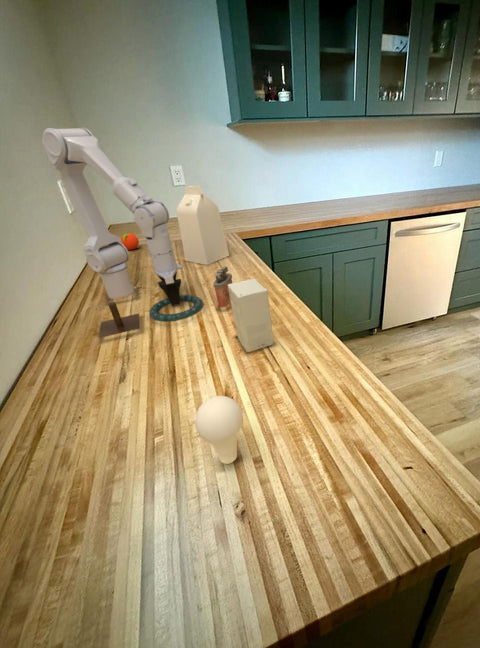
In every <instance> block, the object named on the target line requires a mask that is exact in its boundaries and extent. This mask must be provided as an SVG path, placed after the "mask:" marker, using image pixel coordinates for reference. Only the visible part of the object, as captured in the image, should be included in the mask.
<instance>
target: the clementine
mask: <svg viewBox="0 0 480 648" xmlns="http://www.w3.org/2000/svg"><path fill="white" fill-rule="evenodd" d="M120 240H121V242H122V244H123V245H124V246H125V247H126V249H127V250H128V251H133V250H135V249H137V248H138V246H139V245H140V244H139V243H140V240H139V238H138V236H136V235H135V234H133V233H130V232H129V233H128V232H127V233H124V234H123V235H122V236H121V238H120Z"/></svg>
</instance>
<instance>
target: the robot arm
mask: <svg viewBox="0 0 480 648" xmlns="http://www.w3.org/2000/svg"><path fill="white" fill-rule="evenodd" d="M41 139H42V140H41V144H42V147H43V148H44V151H45V152H46V155H47V157H48V159H49V162H50V163H51V166H52V167H53V169H54V170H56V173H57V175H58V176H59V177H58V178H59V179H60V181H61V183H62V185H63V187H64V189H65V191H66V193H67V195H68V198H69V200H70V201H71V204H72V206H73V208H74V210H75V212H76V214H77V217H78V218H79V220H80V223H81V225H82V227H83V229H84V231H85V233H86V235H87V237H88V239H87V241H86V243H85V244H84V245H83V248H82V249H83V251H84V253H85V257H86V262H87V263H86V264H87V265H88V266H89V268H90V269H91V270H93V271H94V272H95V273H96V274H99V275H100V279H101V280H102V284H103V287H104V289H105V292H106V294H107V297H108V299H110V300H111V299H112V300H117V299H118V300H119V299H123V298H126V297H129V296H131V295H132V294H134V293H135V289H137V286H133V283H132V279H131V277H130V273H129V271H128V268H127V266H129V264H128V262H129V260H130V253H129V249H126V247H125V246H124V245H123V244H122V242H121V238H120V237H119V236H117V235H115V234H112V233H111V232H110V230H109V228H108V225H107V224H106V221H105V220H104V217H103V215H102V213H101V211H100V208H99V206H98V204H97V201H96V200H95V197H94V195H93V193H92V190H91V188H90V186H89V183H88V182H87V179H86V177H85V175H84V169H85V168H86V166H89V167H91V168H92V169H93V170H94V171H95V172H97V174H99V176H101V177H102V178H103V179H104V180H105V181H106V182H107V183H109V185H111V186H112V193H113V195H114V196H115V197H116V198H117V199H118V200H119V201H120V202H121V203H122V205H124V206H125V207H126V208H127V209H128V210H129V211H130V212H131V213H132V214H133V219H132V220H133V221H134V223H135V225H136V227H138V228H139V230H140V233H141V235H142V236H143V237H144V238H145V242H146V246H147V249H148V253H149V256H150V259H151V263H152V266H153V272H154V274H155V275H156V276H157V277H158V278H159V280H160V281H157V284H158V287H159V288H160V289H161V290H162V291H163V292H164V294H165V295H166V298H168V299H169V301H170V303H171V304H170V305H171V306H172V307H174V306H178V305H180V304H181V302H180V295H181V294H180V293H181V292H180V291H181V290H180V289H181V285H182V279H181V278H178V279H177V273H178V271H179V270H182V269H183V266H182V264H179V263H178V264H177V262H176V261H177V260H176V256H175V253H174V249H173V246H172V241H171V237H170V233H169V229H168V226H167V224H168V222H169V220H170V213H169V210H168V208H167V206H166V205H165V204H164V203H163V202H162V201H160V200H156V199H155V198H152V197H150V196H149V194H147V193H146V192H145V191H144V189H143V188H141V186H139V184H138V182H137V181H136V180H135V179H133V178H131V177H125V176H124V175H122V173H121V172H120V170H118V168H117V167H116V166H115V165H114V164H113V162H112V161H111V160H110V158H108V156H107V155H106V154H105V153H104V152H103V150H102V149H100V143H99V140H98V138H97V137H96V136H95V135H94V134H93V132H92V131H90V130H89V129H88V128H86V127H78V128H77V127H75V128H53V127H48V128H45V129H44V130H43V133H42V138H41Z"/></svg>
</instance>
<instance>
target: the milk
mask: <svg viewBox="0 0 480 648" xmlns="http://www.w3.org/2000/svg"><path fill="white" fill-rule="evenodd" d="M184 188H185V189H184V196H183V197H182V199H181V200H180V202H179V203H178V206H177V207H176V217H177V222H178V223H177V224H178V228H179V233H180V239H181V245H182V250H183V255H184V261H185V262H190V263H194V264H195V263H196V264H200V265H201V264H202V265H206V266H209V265H211V264H213V263H216V262H217V261H218V262H219V261H220V260H222V259H225V258H227V257H229V256H230V253H229V247H228V245H227V240H226V235H225V232H224V226H223V222H222V217H221V213H220V210H219V206H218V205H217V204H216V203H215V202H214V201H213V200H211V198H209V197H208V196H207V195H206V194H205V193H204V191H203V190H202V187H201V185H185V187H184Z"/></svg>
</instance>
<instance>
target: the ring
mask: <svg viewBox="0 0 480 648" xmlns="http://www.w3.org/2000/svg"><path fill="white" fill-rule="evenodd" d="M181 302H188V303H192V304H193V306H192V307H190V308H189V309H186V310H184V311H181V312H176V313H161V312H160V311H161V310H162V309H163V308H165V307H166V306H168V305H171V303H170V301H169V299H168V297H166V298H163V299H161V300H159V301H157V302H155V303H154V304H153V305H152V306H151V307H150V309H149V318H150V319H152V320H154V321H157V322H163V323H165V322H177V321H181V320H184V319H187V318H189V317H190V318H191V317H192V316H194V315H197V314H198V313H199V312H201V311H202V310H203V308H204V306H205V304H204V302H203V299H202V298H201V297H198V296H196V295H191V294H180V303H181Z"/></svg>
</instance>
